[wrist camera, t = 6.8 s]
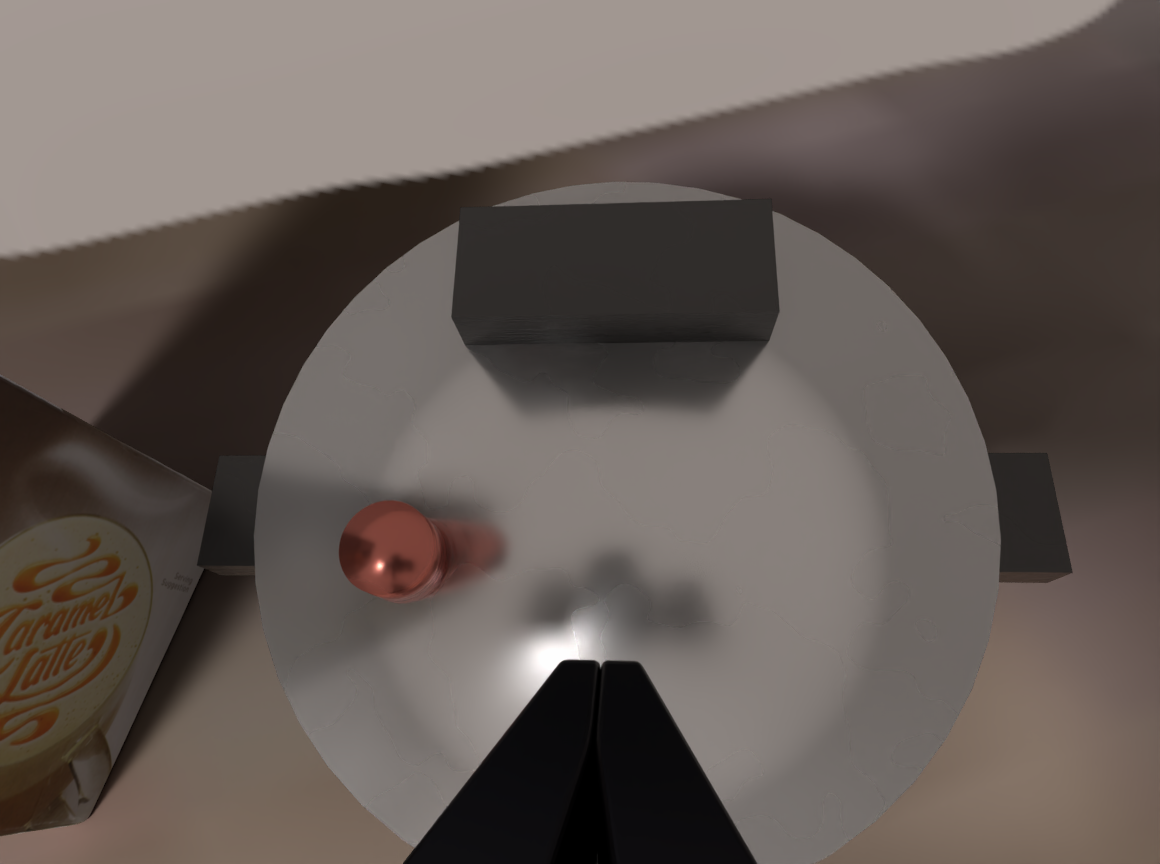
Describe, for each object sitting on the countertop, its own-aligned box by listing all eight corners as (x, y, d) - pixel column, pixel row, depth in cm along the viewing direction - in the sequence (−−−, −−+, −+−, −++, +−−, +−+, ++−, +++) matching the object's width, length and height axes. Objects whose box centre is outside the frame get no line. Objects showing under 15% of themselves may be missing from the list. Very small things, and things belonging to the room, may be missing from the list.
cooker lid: (1035, 915, 13) (1114, 957, 10) (223, 882, 14) (148, 914, 11) (928, 201, 17) (967, 131, 15) (324, 217, 18) (283, 154, 16)
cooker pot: (996, 898, 18) (1156, 969, 12) (273, 870, 19) (122, 922, 14) (913, 355, 23) (1000, 232, 17) (348, 362, 24) (262, 249, 19)
